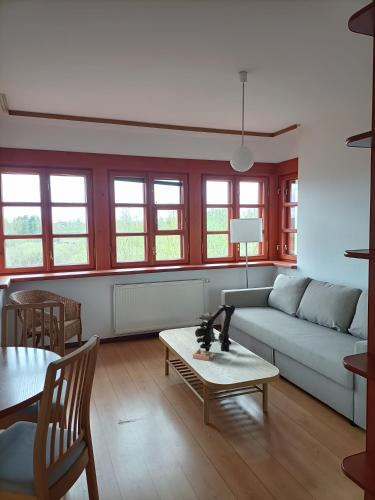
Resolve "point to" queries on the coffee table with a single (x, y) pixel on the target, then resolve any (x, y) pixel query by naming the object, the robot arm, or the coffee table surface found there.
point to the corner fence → (197, 356)
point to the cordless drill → (211, 326)
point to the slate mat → (213, 356)
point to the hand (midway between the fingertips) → (207, 353)
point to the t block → (207, 354)
